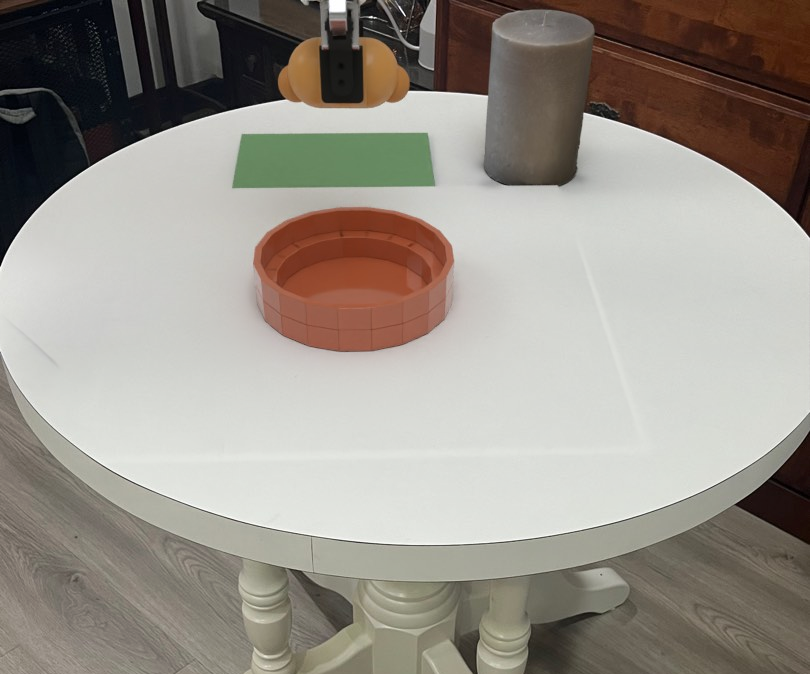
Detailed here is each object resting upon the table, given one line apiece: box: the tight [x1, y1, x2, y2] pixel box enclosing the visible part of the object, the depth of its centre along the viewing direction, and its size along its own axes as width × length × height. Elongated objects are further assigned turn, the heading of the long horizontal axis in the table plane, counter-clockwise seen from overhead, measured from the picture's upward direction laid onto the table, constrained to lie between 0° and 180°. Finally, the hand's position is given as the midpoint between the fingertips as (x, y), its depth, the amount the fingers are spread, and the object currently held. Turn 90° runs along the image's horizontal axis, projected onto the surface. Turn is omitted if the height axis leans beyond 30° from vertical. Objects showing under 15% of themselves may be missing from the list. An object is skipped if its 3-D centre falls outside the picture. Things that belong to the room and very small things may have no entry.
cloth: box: [231, 132, 436, 189], centre depth 102 cm, size 20×13×1 cm, turn 92°
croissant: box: [277, 36, 411, 109], centre depth 77 cm, size 10×5×5 cm, turn 91°
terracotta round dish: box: [252, 206, 455, 352], centre depth 82 cm, size 16×16×4 cm
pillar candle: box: [483, 9, 596, 187], centre depth 97 cm, size 10×10×15 cm
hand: (343, 84), depth 78 cm, fingers closed on croissant, 5 cm apart
